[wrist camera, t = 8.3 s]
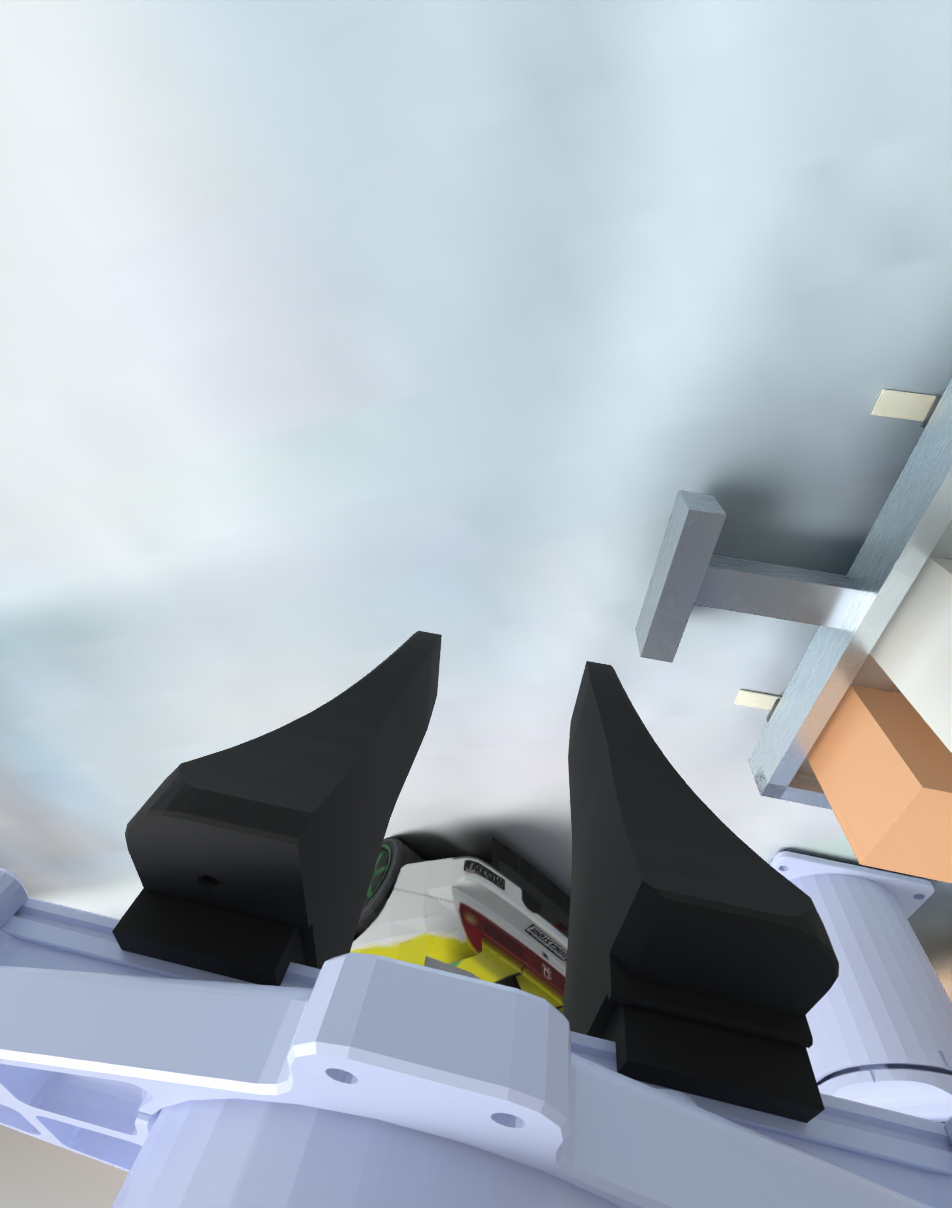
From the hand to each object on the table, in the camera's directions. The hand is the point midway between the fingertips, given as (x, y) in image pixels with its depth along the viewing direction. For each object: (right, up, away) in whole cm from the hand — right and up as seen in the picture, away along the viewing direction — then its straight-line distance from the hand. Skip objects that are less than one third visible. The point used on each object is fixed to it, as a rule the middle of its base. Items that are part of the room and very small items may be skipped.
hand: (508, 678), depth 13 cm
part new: (+15, -3, +8) cm, 18 cm away
